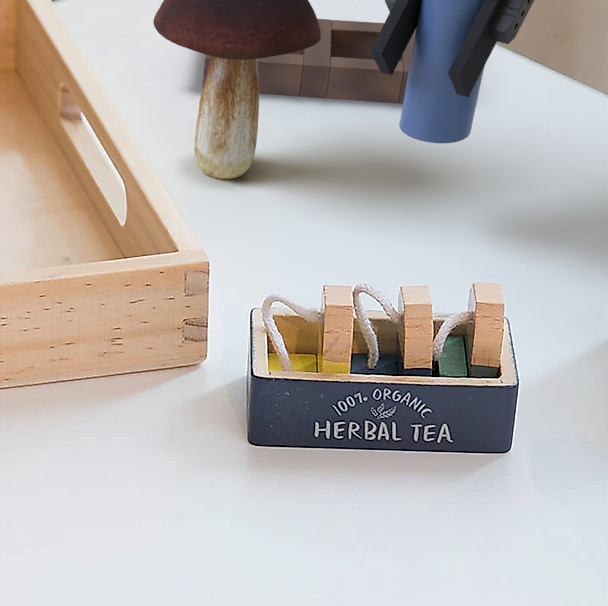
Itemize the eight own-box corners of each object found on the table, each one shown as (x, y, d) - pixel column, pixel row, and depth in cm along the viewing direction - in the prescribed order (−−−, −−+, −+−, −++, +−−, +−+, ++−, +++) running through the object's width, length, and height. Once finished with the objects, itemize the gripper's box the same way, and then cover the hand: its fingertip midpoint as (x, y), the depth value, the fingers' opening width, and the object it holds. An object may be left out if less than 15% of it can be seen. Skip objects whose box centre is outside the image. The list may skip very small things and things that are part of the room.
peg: (468, 116, 97) (516, -116, 88) (472, 146, 94) (523, -92, 85) (398, 111, 98) (439, -120, 89) (400, 141, 95) (442, -96, 85)
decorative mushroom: (259, 134, 112) (283, -78, 102) (328, 201, 105) (362, -21, 95) (120, 155, 110) (132, -60, 100) (181, 225, 102) (199, 0, 92)
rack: (419, 62, 122) (426, 25, 120) (423, 112, 115) (431, 73, 113) (209, 48, 124) (213, 11, 122) (201, 96, 117) (204, 58, 115)
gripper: (754, -224, 89) (565, 142, 90) (479, -268, 97) (309, 67, 98) (752, -313, 82) (548, 82, 83) (456, -353, 90) (275, 7, 92)
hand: (419, 73), depth 91 cm, fingers closed on peg, 4 cm apart
